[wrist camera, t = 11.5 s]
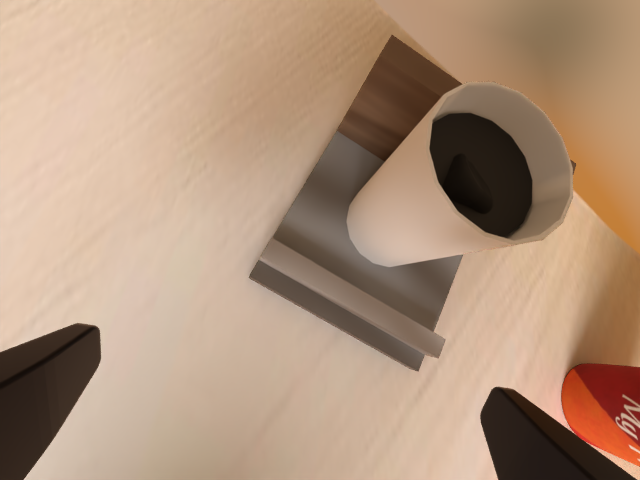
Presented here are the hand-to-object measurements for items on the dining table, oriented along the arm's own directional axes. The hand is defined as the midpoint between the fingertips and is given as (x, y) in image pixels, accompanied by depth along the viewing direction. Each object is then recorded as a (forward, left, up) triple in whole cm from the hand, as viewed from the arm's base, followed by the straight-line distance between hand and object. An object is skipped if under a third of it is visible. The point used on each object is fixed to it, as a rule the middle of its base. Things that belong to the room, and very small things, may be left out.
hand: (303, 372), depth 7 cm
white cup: (+2, -11, -12) cm, 16 cm away
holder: (+1, -10, -13) cm, 16 cm away
